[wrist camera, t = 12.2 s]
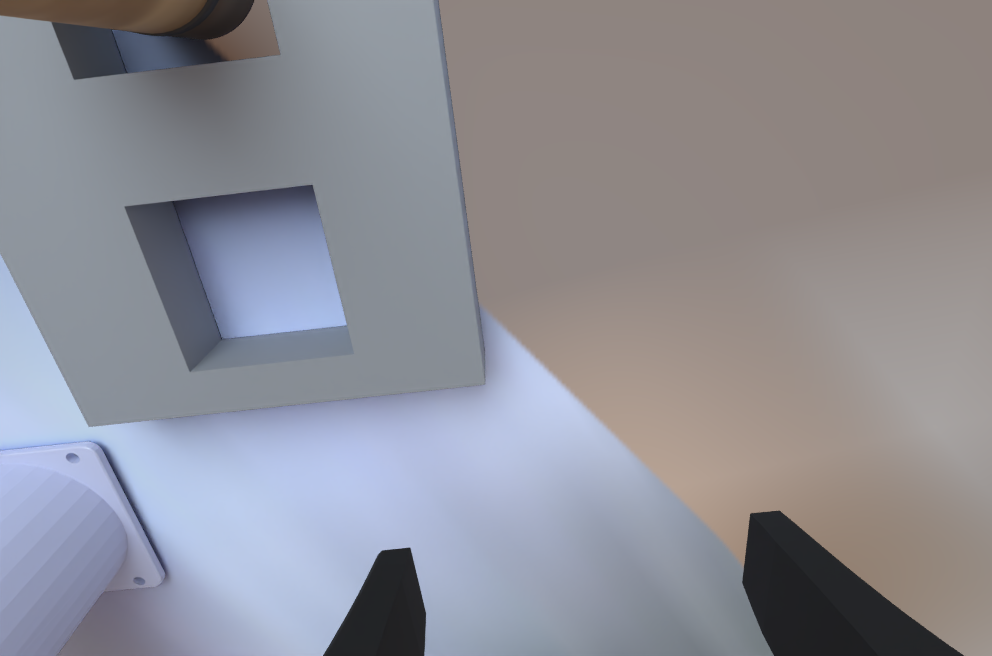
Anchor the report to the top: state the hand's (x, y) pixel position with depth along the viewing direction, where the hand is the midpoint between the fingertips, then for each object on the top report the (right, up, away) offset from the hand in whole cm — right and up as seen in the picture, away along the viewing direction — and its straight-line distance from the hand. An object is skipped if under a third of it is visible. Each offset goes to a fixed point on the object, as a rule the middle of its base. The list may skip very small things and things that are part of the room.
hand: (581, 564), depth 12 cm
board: (-10, +12, +6) cm, 16 cm away
